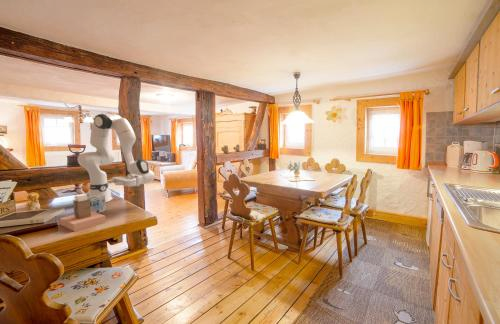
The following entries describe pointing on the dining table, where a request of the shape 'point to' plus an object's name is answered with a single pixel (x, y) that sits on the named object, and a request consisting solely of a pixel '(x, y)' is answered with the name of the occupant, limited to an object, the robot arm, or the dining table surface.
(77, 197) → the cargo block
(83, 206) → the walnut crate
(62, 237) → the dining table surface
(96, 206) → the light bulb box
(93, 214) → the dock
